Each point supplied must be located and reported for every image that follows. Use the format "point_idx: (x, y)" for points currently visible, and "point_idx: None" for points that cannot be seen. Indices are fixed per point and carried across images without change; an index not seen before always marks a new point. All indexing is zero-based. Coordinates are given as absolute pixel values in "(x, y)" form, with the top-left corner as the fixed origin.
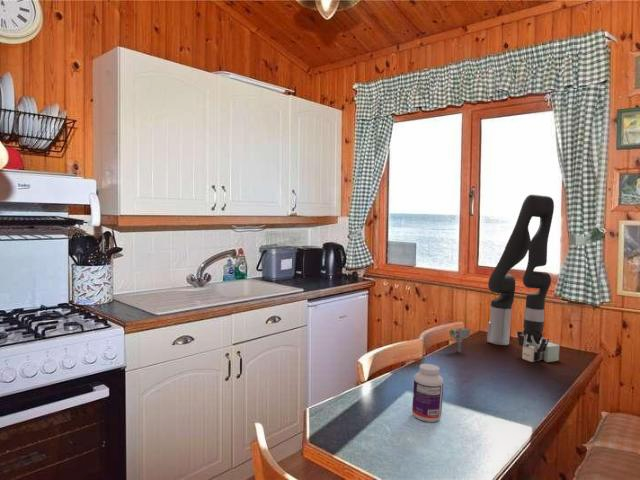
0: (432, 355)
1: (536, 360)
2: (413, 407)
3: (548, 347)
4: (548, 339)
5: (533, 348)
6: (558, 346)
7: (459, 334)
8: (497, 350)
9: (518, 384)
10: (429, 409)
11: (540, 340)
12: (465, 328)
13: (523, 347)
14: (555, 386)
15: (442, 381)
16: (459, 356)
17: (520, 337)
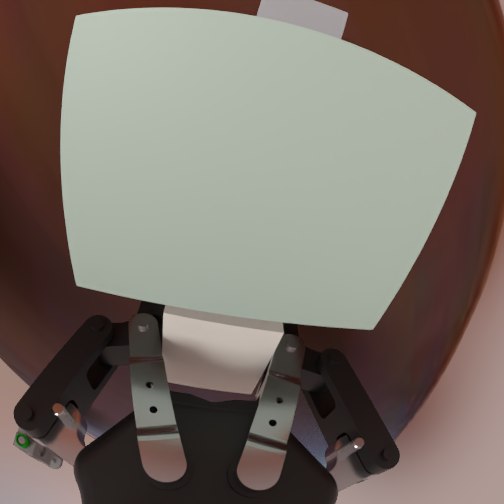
0: (93, 434)
1: None
2: None
3: (369, 322)
4: (397, 461)
5: (235, 363)
6: (460, 135)
7: (55, 454)
8: (21, 278)
9: (324, 448)
10: None
11: (94, 65)
12: (16, 445)
13: (168, 377)
14: (397, 414)
15: None
16: (102, 419)
17: (84, 411)
